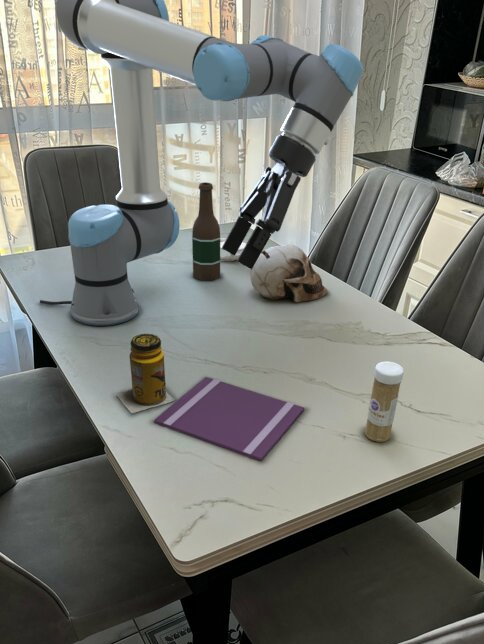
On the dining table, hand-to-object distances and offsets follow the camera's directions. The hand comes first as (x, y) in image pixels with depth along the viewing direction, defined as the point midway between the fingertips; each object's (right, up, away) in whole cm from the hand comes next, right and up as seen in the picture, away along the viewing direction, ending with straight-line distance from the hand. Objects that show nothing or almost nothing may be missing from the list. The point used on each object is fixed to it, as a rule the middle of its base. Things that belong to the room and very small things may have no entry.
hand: (235, 258), depth 105 cm
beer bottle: (-9, +8, +57) cm, 58 cm away
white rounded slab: (-5, +18, +72) cm, 74 cm away
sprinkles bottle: (+24, -31, -2) cm, 39 cm away
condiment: (-17, -25, +6) cm, 30 cm away
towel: (-1, -28, +2) cm, 28 cm away
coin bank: (+12, +2, +48) cm, 50 cm away
